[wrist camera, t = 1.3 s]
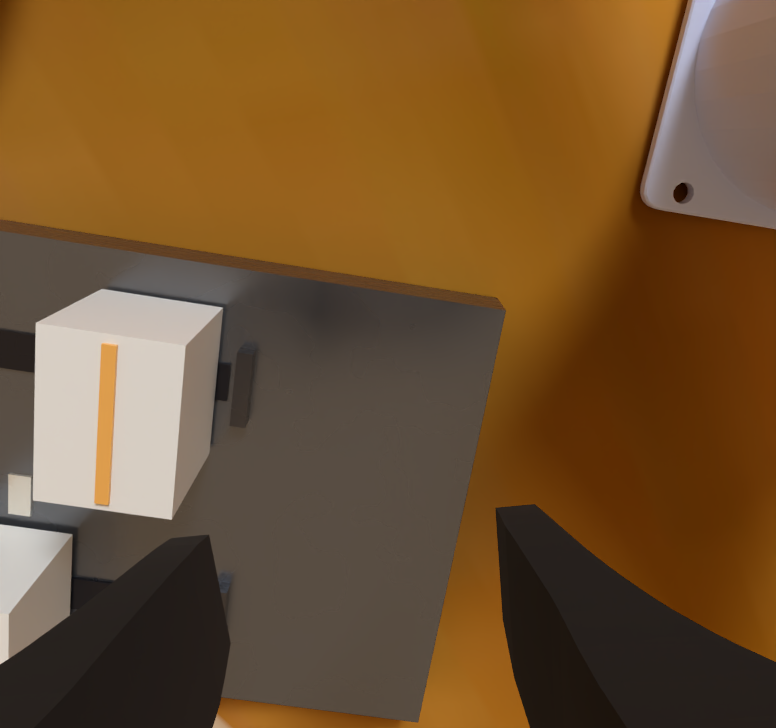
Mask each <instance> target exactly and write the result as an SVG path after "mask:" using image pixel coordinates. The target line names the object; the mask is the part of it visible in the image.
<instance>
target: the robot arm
mask: <svg viewBox="0 0 776 728" xmlns="http://www.w3.org/2000/svg"><path fill="white" fill-rule="evenodd" d="M680 183H685V184H686V186H687V188H688V194H687V196H686V198H685V199H684V200H682V201H681V202H676V201H675V199H674V197H673V191H674V189H675V187H676V186H677V185H679V184H680ZM640 195H641V198H642V201H643V202H644V203H645V204H646V205H647V206H649V207H651V208H654V209H658V210H663V211H669V212H675V213H681V214H687V215H693V216H699V217H705V218H711V219H718V220H724V221H730V222H736V223H742V224H748V225H754V226H760V227H766V228H772V229H776V0H688V3H687V7H686V11H685V14H684V18H683V22H682V26H681V30H680V34H679V38H678V42H677V46H676V50H675V53H674V57H673V61H672V65H671V69H670V73H669V77H668V81H667V85H666V89H665V93H664V96H663V100H662V104H661V108H660V112H659V116H658V120H657V124H656V128H655V132H654V135H653V139H652V143H651V147H650V151H649V155H648V159H647V163H646V167H645V171H644V175H643V178H642V182H641V187H640ZM496 521H497V536H498V551H499V567H500V582H501V597H502V612H503V622H504V627H505V633H506V638H507V643H508V648H509V653H510V658H511V663H512V668H513V673H514V678H515V681H516V684H517V687H518V691H519V694H520V697H521V700H522V703H523V706H524V710H525V713H526V716H527V719H528V722H529V725H530V728H776V662H774V661H772V660H770V659H768V658H766V657H763V656H761V655H759V654H757V653H755V652H752V651H750V650H748V649H746V648H744V647H741V646H739V645H737V644H735V643H733V642H731V641H729V640H727V639H725V638H723V637H721V636H719V635H717V634H715V633H713V632H711V631H710V630H708V629H706V628H704V627H703V626H701V625H699V624H697V623H695V622H694V621H692V620H690V619H688V618H686V617H685V616H683V615H681V614H679V613H678V612H676V611H674V610H672V609H671V608H669V607H667V606H666V605H664V604H663V603H661V602H659V601H658V600H656V599H655V598H653V597H652V596H650V595H649V594H647V593H646V592H644V591H643V590H641V589H640V588H638V587H637V586H635V585H634V584H633V583H631V582H630V581H628V580H627V579H625V578H624V577H622V576H621V575H620V574H618V573H617V572H616V571H614V570H613V569H611V568H610V567H609V566H607V565H606V564H605V563H604V562H602V561H601V560H600V559H598V558H597V557H596V556H595V555H593V554H592V553H591V552H590V551H588V550H587V549H586V548H585V547H584V546H582V545H581V544H580V543H579V542H578V541H577V540H575V539H574V538H573V537H572V536H571V535H570V534H568V533H567V532H566V531H565V530H564V529H563V528H561V527H560V526H559V525H558V524H557V523H556V522H555V521H554V520H552V519H551V518H550V517H549V516H548V515H547V514H546V513H544V512H543V511H542V510H541V509H540V508H539V507H537V506H536V505H535V504H533V505H522V506H511V507H500V508H496ZM230 645H231V642H230V637H229V632H228V627H227V622H226V617H225V612H224V607H223V602H222V597H221V591H220V586H219V581H218V576H217V571H216V566H215V561H214V556H213V551H212V546H211V541H210V536H209V535H199V536H188V537H177V538H171V539H169V540H168V541H166V542H164V543H163V544H161V545H160V546H159V547H157V548H156V549H154V550H153V551H152V552H150V553H149V554H148V555H147V556H145V557H144V558H143V559H141V560H140V561H139V562H138V563H136V564H135V565H134V566H133V567H131V568H130V569H129V570H128V571H126V572H125V573H124V574H123V575H121V576H120V577H119V578H117V579H116V580H115V581H114V582H112V583H111V584H110V585H109V586H107V587H106V588H105V589H103V590H102V591H101V592H100V593H98V594H97V595H96V596H95V597H93V598H92V599H91V600H89V601H88V602H87V603H86V604H84V605H83V606H82V607H80V608H79V609H78V610H76V611H75V612H74V613H72V614H71V615H70V616H68V617H67V618H65V619H64V620H63V621H61V622H60V623H59V624H57V625H56V626H54V627H53V628H52V629H50V630H49V631H48V632H46V633H45V634H43V635H42V636H41V637H39V638H38V639H37V640H35V641H34V642H32V643H31V644H30V645H28V646H27V647H25V648H24V649H23V650H21V651H20V652H18V653H17V654H15V655H14V656H12V657H11V658H9V659H8V660H6V661H5V662H3V663H2V664H0V728H212V727H213V724H214V721H215V718H216V714H217V711H218V708H219V705H220V700H221V695H222V690H223V685H224V680H225V675H226V669H227V663H228V657H229V651H230Z"/></svg>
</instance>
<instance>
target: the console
mask: <svg viewBox="0 0 776 728" xmlns="http://www.w3.org/2000/svg"><path fill="white" fill-rule="evenodd" d="M101 289H106V290H112V291H119V292H125V293H132V294H138V295H144V296H151V297H157V298H164V299H170V300H177V301H183V302H190V303H196V304H203V305H209V306H216V307H222V308H223V315H222V326H221V336H220V347H219V357H218V368H217V379H216V389H215V400H214V410H213V421H212V431H211V442H210V452H209V455H208V457H207V459H206V460H205V462H204V464H203V466H202V467H201V469H200V471H199V473H198V474H197V476H196V478H195V480H194V481H193V483H192V485H191V487H190V489H189V490H188V492H187V494H186V496H185V497H184V499H183V501H182V503H181V504H180V506H179V508H178V510H177V511H176V513H175V515H174V517H173V518H172V520H169V519H162V518H155V517H148V516H141V515H134V514H126V513H119V512H112V511H105V510H98V509H91V508H84V507H76V506H69V505H62V504H55V503H48V502H41V501H33V457H34V397H35V336H36V323H37V322H38V321H40V320H42V319H44V318H46V317H48V316H50V315H52V314H54V313H56V312H58V311H60V310H62V309H64V308H66V307H68V306H70V305H72V304H73V303H75V302H77V301H79V300H81V299H83V298H85V297H87V296H89V295H91V294H93V293H95V292H97V291H99V290H101ZM505 312H506V310H505V309H504V307H503V306H502V304H501V303H500V302H499V300H498V299H497V298H493V297H487V296H480V295H474V294H468V293H461V292H455V291H449V290H442V289H436V288H430V287H423V286H417V285H411V284H405V283H398V282H392V281H386V280H379V279H373V278H367V277H360V276H354V275H348V274H341V273H335V272H329V271H322V270H316V269H310V268H303V267H297V266H291V265H284V264H278V263H272V262H265V261H259V260H253V259H246V258H240V257H234V256H227V255H221V254H215V253H208V252H202V251H196V250H189V249H183V248H177V247H170V246H164V245H158V244H152V243H145V242H139V241H133V240H126V239H120V238H114V237H107V236H101V235H95V234H88V233H82V232H76V231H69V230H63V229H57V228H50V227H44V226H38V225H31V224H25V223H19V222H12V221H6V220H0V524H2V525H9V526H16V527H23V528H31V529H38V530H45V531H52V532H60V533H67V534H73V539H72V567H71V596H70V615H71V614H72V613H74V612H75V611H76V610H78V609H79V608H80V607H82V606H83V605H84V604H86V603H87V602H88V601H89V600H91V599H92V598H93V597H95V596H96V595H97V594H98V593H100V592H101V591H102V590H103V589H105V588H106V587H107V586H109V585H110V584H111V583H112V582H114V581H115V580H116V579H117V578H119V577H120V576H121V575H123V574H124V573H125V572H126V571H128V570H129V569H130V568H131V567H133V566H134V565H135V564H136V563H138V562H139V561H140V560H141V559H143V558H144V557H145V556H147V555H148V554H149V553H150V552H152V551H153V550H154V549H156V548H157V547H159V546H160V545H161V544H163V543H164V542H166V541H168V540H169V539H171V538H177V537H188V536H199V535H209V536H210V541H211V546H212V551H213V556H214V561H215V566H216V571H217V576H218V581H219V586H220V591H221V597H222V602H223V607H224V612H225V617H226V622H227V627H228V632H229V637H230V642H231V645H230V651H229V657H228V663H227V669H226V675H225V680H224V685H223V690H222V695H221V697H224V698H232V699H239V700H247V701H255V702H263V703H271V704H278V705H286V706H294V707H302V708H310V709H317V710H325V711H333V712H341V713H349V714H356V715H364V716H372V717H380V718H388V719H395V720H403V721H411V722H418V720H419V715H420V711H421V706H422V701H423V697H424V692H425V687H426V683H427V678H428V673H429V668H430V664H431V659H432V654H433V650H434V645H435V640H436V636H437V631H438V626H439V622H440V617H441V612H442V607H443V603H444V598H445V593H446V589H447V584H448V579H449V575H450V570H451V565H452V561H453V556H454V551H455V546H456V542H457V537H458V532H459V528H460V523H461V518H462V514H463V509H464V504H465V499H466V495H467V490H468V485H469V481H470V476H471V471H472V467H473V462H474V457H475V453H476V448H477V443H478V438H479V434H480V429H481V424H482V420H483V415H484V410H485V406H486V401H487V396H488V392H489V387H490V382H491V377H492V373H493V368H494V363H495V359H496V354H497V349H498V345H499V340H500V335H501V330H502V326H503V321H504V316H505Z"/></svg>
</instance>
